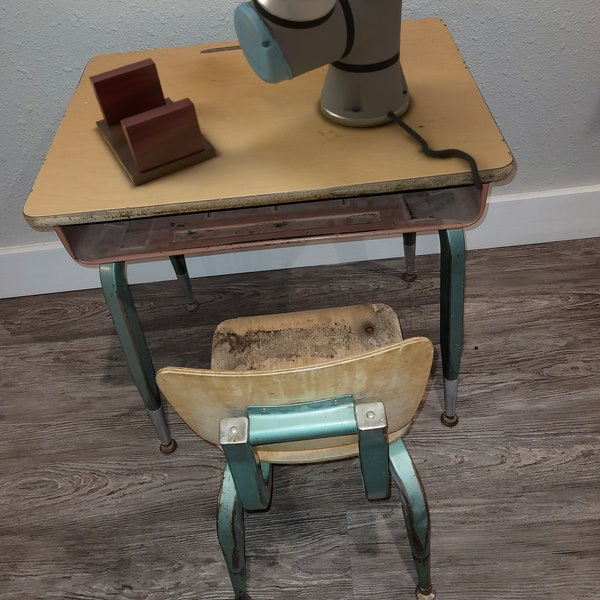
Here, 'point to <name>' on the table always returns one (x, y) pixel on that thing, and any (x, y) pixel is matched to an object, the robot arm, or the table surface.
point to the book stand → (147, 123)
